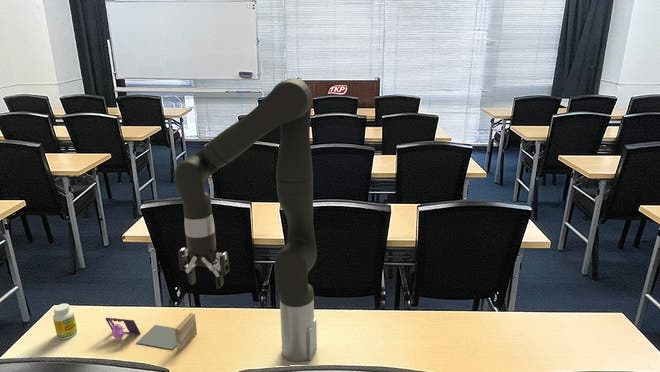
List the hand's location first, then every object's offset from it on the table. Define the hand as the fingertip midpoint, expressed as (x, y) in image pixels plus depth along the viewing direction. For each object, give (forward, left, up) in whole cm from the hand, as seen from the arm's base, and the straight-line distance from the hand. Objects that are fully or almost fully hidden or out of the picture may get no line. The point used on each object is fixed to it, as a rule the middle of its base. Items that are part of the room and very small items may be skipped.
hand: (206, 285), depth 124 cm
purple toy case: (+28, +3, -20) cm, 35 cm away
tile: (+8, 0, -20) cm, 22 cm away
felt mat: (+16, 0, -20) cm, 25 cm away
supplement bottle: (+45, +6, -20) cm, 50 cm away
